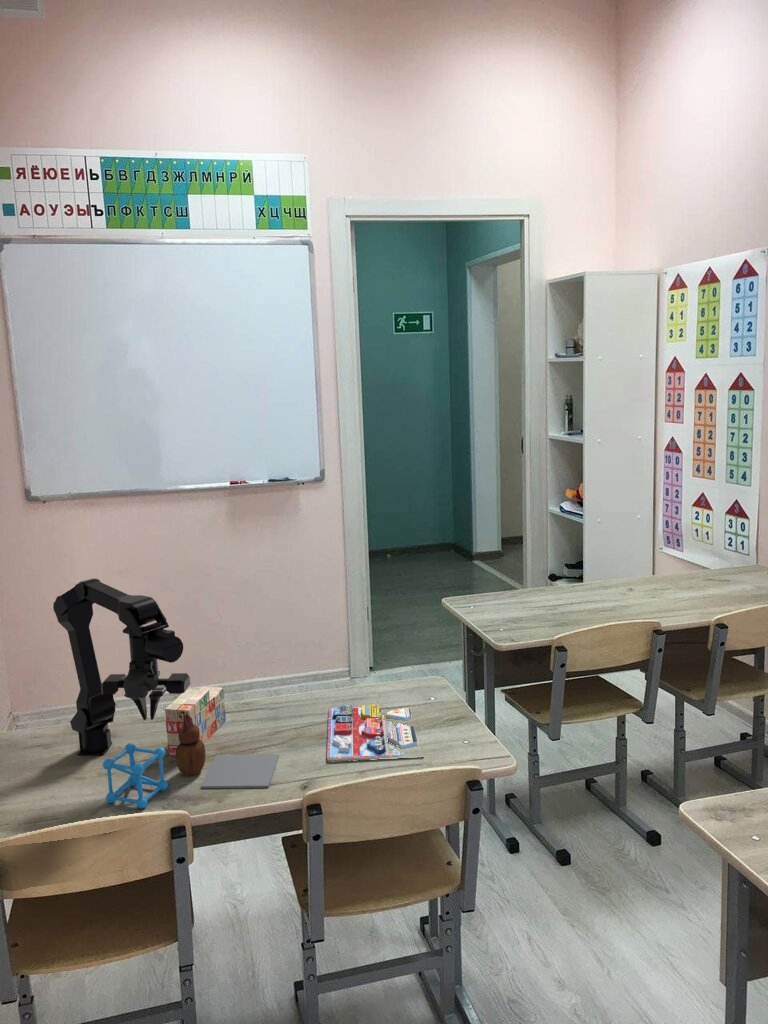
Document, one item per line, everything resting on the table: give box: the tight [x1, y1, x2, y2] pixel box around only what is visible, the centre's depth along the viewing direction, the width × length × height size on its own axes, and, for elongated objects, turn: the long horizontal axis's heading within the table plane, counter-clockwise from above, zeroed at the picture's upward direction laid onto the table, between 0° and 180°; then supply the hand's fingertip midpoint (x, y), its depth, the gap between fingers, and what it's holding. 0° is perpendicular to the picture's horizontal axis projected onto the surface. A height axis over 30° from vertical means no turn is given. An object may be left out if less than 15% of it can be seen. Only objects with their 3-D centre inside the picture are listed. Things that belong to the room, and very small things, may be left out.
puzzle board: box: [326, 703, 418, 763], centre depth 210 cm, size 30×23×3 cm
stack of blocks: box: [164, 686, 227, 757], centre depth 209 cm, size 21×6×12 cm, turn 169°
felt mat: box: [200, 753, 280, 789], centre depth 191 cm, size 15×15×1 cm
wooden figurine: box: [174, 713, 206, 777], centre depth 190 cm, size 7×6×15 cm
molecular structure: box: [102, 742, 169, 809], centre depth 181 cm, size 10×10×10 cm
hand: (148, 719), depth 190 cm, fingers closed
